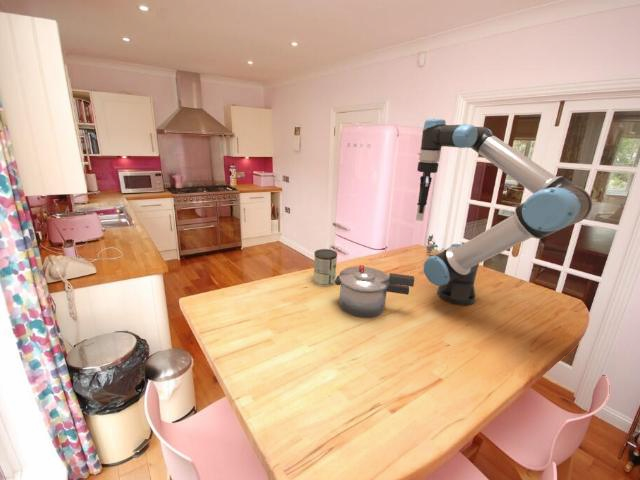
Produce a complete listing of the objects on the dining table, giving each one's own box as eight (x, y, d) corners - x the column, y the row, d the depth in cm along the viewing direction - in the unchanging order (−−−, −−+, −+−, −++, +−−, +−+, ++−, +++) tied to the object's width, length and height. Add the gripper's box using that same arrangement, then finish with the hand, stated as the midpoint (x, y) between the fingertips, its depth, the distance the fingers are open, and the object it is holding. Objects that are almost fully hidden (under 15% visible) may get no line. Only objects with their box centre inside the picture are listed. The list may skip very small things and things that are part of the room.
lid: (335, 288, 109) (336, 275, 107) (342, 267, 127) (343, 256, 126) (415, 299, 104) (417, 286, 102) (410, 275, 122) (412, 264, 121)
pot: (330, 312, 114) (332, 286, 110) (338, 290, 131) (340, 267, 127) (405, 325, 108) (410, 298, 105) (404, 300, 125) (408, 277, 121)
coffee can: (314, 275, 144) (315, 248, 139) (335, 277, 143) (337, 249, 139) (311, 285, 134) (313, 256, 130) (334, 287, 133) (336, 258, 129)
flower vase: (450, 290, 152) (415, 251, 180) (472, 282, 153) (434, 245, 182) (452, 273, 145) (415, 236, 174) (475, 265, 146) (435, 229, 175)
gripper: (417, 160, 123) (409, 215, 131) (419, 162, 111) (410, 223, 119) (436, 161, 122) (427, 217, 129) (441, 163, 110) (430, 225, 117)
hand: (419, 220), depth 124 cm, fingers closed
